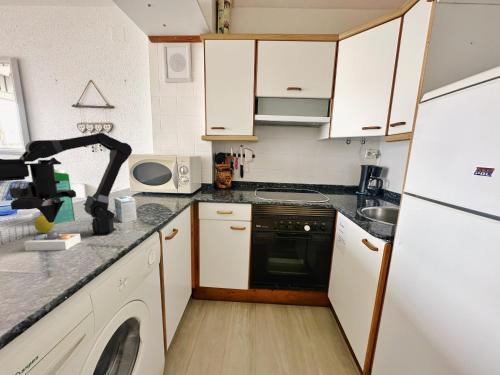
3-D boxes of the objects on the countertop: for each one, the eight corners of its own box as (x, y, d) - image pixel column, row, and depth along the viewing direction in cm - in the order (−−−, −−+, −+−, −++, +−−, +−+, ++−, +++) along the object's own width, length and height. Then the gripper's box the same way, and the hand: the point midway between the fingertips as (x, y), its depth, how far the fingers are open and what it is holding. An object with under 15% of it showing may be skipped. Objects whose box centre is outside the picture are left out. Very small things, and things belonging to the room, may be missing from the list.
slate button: (50, 241, 76) (48, 234, 75) (42, 245, 73) (41, 237, 72) (41, 242, 76) (40, 234, 75) (33, 245, 73) (32, 237, 72)
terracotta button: (74, 241, 77) (73, 233, 76) (67, 245, 74) (66, 236, 73) (65, 241, 76) (64, 233, 76) (58, 245, 73) (57, 237, 73)
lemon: (53, 230, 90) (50, 212, 88) (56, 233, 86) (53, 214, 85) (35, 233, 85) (32, 214, 84) (37, 237, 82) (33, 217, 80)
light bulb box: (115, 218, 106) (113, 197, 104) (130, 215, 111) (128, 195, 109) (122, 223, 99) (120, 200, 97) (137, 219, 104) (135, 198, 102)
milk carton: (75, 220, 102) (67, 169, 98) (49, 224, 96) (40, 170, 91) (72, 216, 108) (65, 168, 104) (48, 220, 102) (39, 169, 97)
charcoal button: (61, 238, 76) (60, 230, 76) (54, 242, 73) (53, 234, 73) (52, 238, 76) (51, 230, 75) (45, 242, 73) (44, 234, 72)
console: (44, 241, 78) (42, 234, 77) (80, 241, 79) (79, 233, 78) (25, 250, 71) (24, 242, 70) (66, 249, 72) (64, 241, 71)
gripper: (43, 175, 79) (49, 214, 82) (-15, 182, 61) (-4, 233, 64) (74, 175, 80) (79, 214, 83) (26, 182, 62) (35, 232, 64)
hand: (51, 222), depth 73 cm, fingers closed
